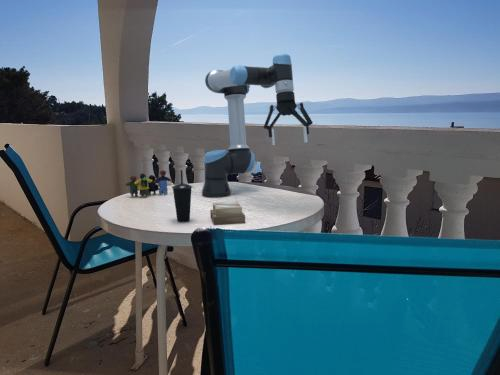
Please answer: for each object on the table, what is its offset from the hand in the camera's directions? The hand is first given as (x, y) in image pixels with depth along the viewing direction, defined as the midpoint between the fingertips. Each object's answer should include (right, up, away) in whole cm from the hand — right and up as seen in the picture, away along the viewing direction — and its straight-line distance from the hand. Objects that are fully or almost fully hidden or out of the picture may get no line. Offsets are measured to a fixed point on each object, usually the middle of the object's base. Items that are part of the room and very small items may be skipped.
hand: (289, 143), depth 153 cm
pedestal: (-26, -31, -7) cm, 41 cm away
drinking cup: (-43, -31, -8) cm, 54 cm away
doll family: (-69, -23, +40) cm, 83 cm away
